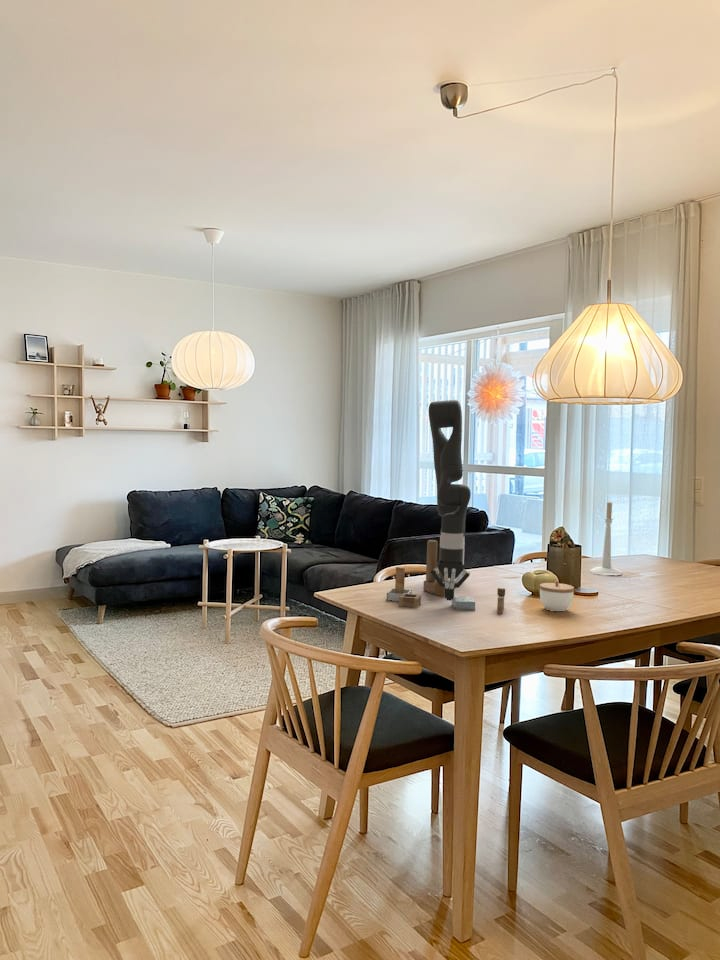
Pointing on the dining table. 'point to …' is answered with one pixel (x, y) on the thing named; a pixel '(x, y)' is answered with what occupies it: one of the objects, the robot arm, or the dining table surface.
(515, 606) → the dining table surface
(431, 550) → the tan angled wooden part
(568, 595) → the lidded jar
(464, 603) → the grey rectangular block
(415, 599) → the socket block
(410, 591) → the tray
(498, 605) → the block
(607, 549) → the candlestick
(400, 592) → the dowel
